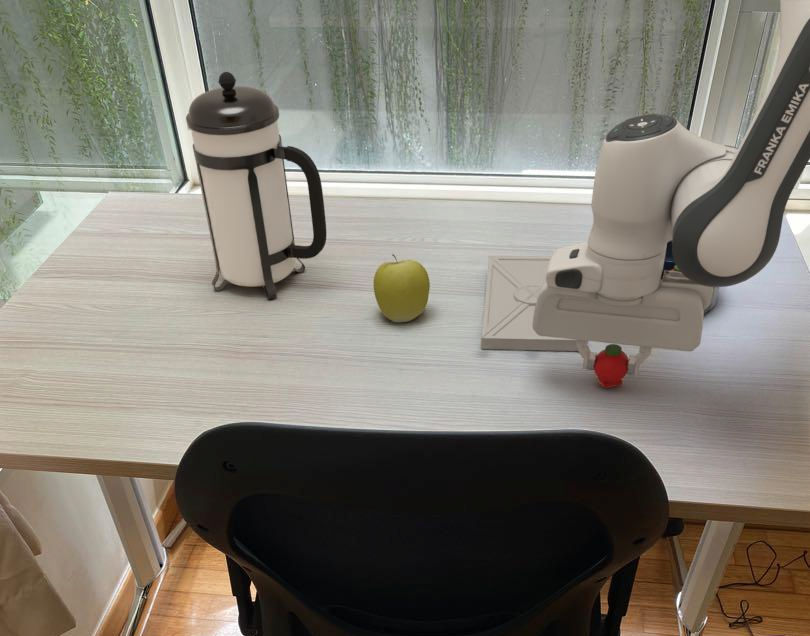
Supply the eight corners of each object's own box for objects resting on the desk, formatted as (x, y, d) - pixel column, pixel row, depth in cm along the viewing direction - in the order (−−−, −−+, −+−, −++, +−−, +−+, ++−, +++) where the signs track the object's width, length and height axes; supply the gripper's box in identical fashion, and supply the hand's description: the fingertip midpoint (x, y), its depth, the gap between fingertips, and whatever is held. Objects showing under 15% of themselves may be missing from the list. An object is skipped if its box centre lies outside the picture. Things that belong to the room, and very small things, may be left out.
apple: (431, 324, 123) (408, 258, 118) (380, 334, 127) (355, 271, 121) (443, 298, 129) (422, 234, 123) (394, 308, 132) (371, 246, 126)
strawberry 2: (618, 370, 114) (622, 336, 111) (632, 387, 111) (637, 354, 107) (586, 375, 113) (590, 342, 110) (599, 393, 110) (604, 360, 107)
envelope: (481, 350, 120) (582, 352, 119) (481, 336, 119) (583, 338, 117) (488, 267, 137) (577, 268, 136) (488, 254, 136) (578, 255, 134)
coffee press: (222, 313, 130) (178, 97, 110) (205, 268, 142) (163, 65, 121) (334, 292, 134) (312, 79, 113) (309, 250, 145) (285, 49, 125)
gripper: (718, 262, 101) (696, 366, 111) (542, 248, 106) (536, 348, 116) (716, 288, 97) (693, 393, 106) (533, 272, 102) (527, 374, 111)
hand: (610, 370), depth 111 cm, fingers closed on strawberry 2, 4 cm apart
